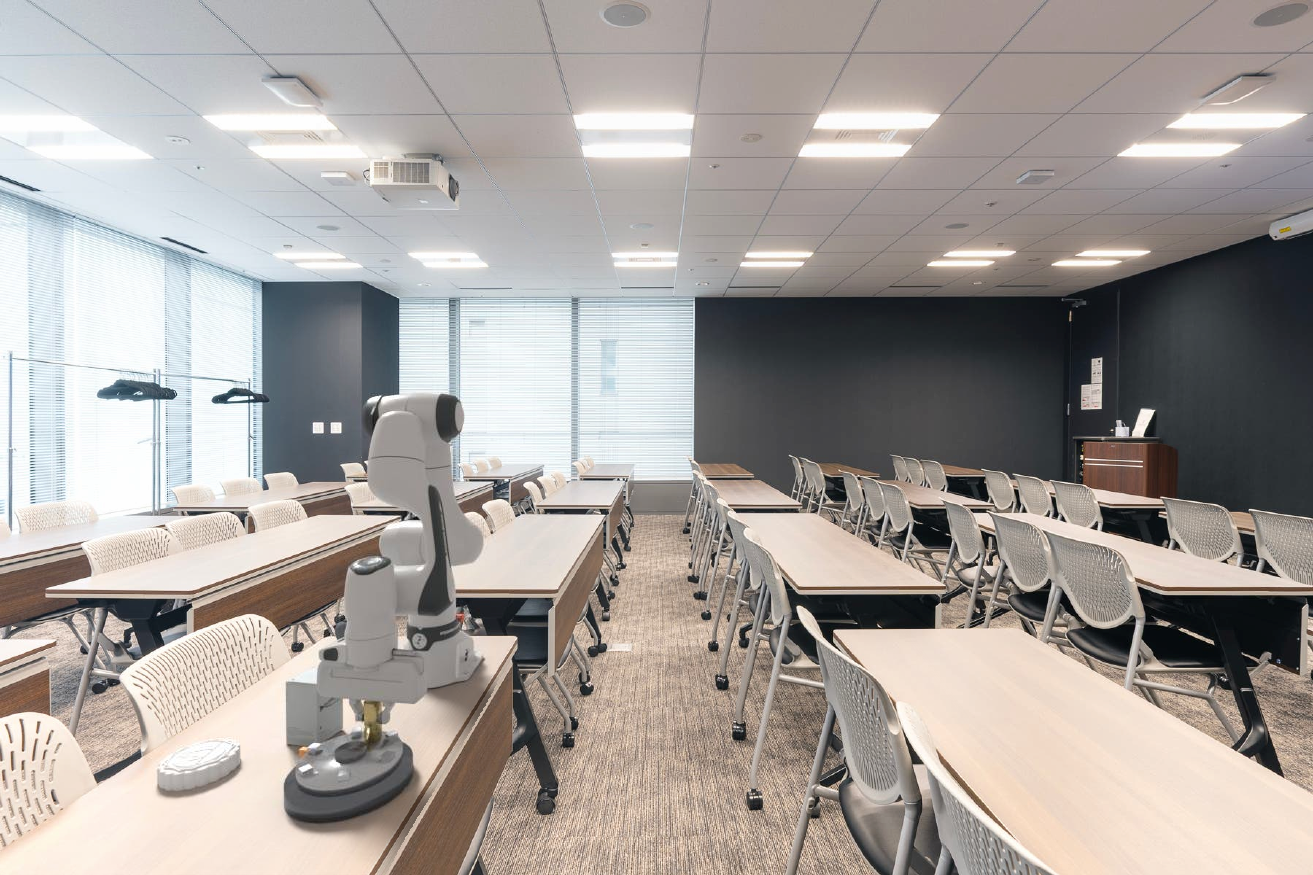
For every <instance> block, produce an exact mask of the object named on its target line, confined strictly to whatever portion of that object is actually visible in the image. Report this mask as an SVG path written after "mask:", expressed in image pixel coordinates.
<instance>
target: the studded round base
mask: <svg viewBox="0 0 1313 875" xmlns="http://www.w3.org/2000/svg"><path fill="white" fill-rule="evenodd" d="M363 706H364V722H363V727H362V726H359V727H353V728H351V732H350V733H346V734H343V735H339V736H337V737H333V738H331V739H330V738H329V739H328V740H326V741H325V742H323V743H321V744H319V743H313V744H312V745H310V746H309V747H307V746H306V747H307V753H306V754H304V755H303V756H302V757H301V759H300V760H299V759H298V761H297V763H296V765H295V766H296V786H297V787H298V789H299V790H301V791H302V792H304V793H306V794H309V795H314V796H337V795H344V794H348V793H352V792H356V791H359V790H362V789H365V788H367V787H370V786H372V785H374V784H376V783H378V782H380V781H382V780H383V779H385V778H386V777H388V776H389V775H391V774H392V773H393V772H394V771H395V770H396V769H397V768H398V767H399V765H400V764H401V762H402V758H403V743H402V742H403V741H402V739H401V738H400V737H399V733H398V731H396V730H395V729H391V730H390V731H383V724H378V723H377V721H378V719H377V715H378V714H379V713H381V712H382V711H383V710H382V709H383V706H382V702H380V701H368V700H363Z"/></svg>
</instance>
